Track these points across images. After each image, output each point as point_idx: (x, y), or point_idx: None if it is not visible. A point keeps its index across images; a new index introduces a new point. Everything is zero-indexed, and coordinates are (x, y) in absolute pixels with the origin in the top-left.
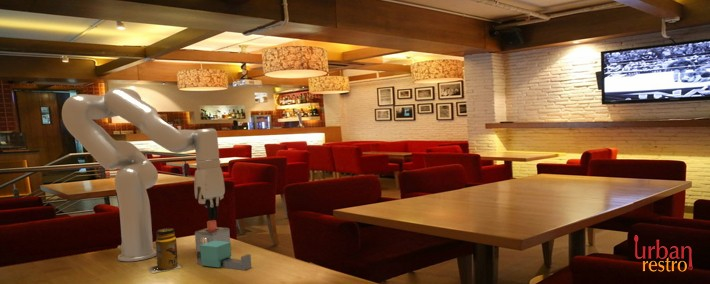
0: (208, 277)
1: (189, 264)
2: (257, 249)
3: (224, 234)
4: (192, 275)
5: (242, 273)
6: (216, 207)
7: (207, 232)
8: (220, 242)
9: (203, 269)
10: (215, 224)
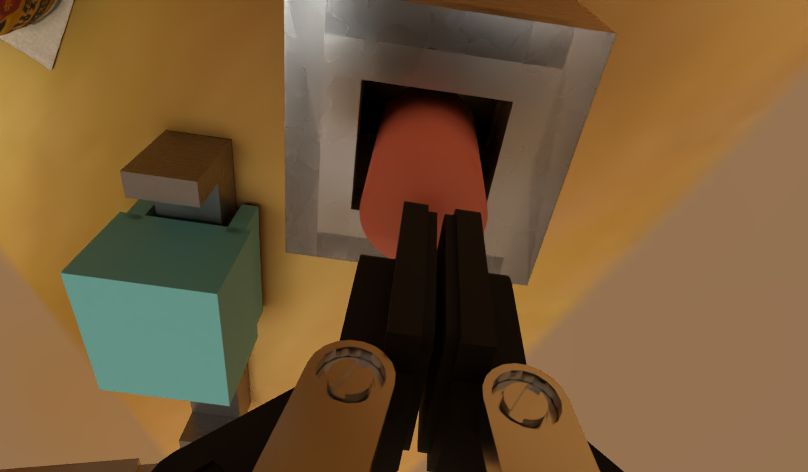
0: (53, 315)
1: (132, 75)
2: (548, 311)
3: None
4: (16, 232)
5: (173, 403)
6: (433, 456)
7: (307, 178)
8: (194, 359)
9: None
10: None
